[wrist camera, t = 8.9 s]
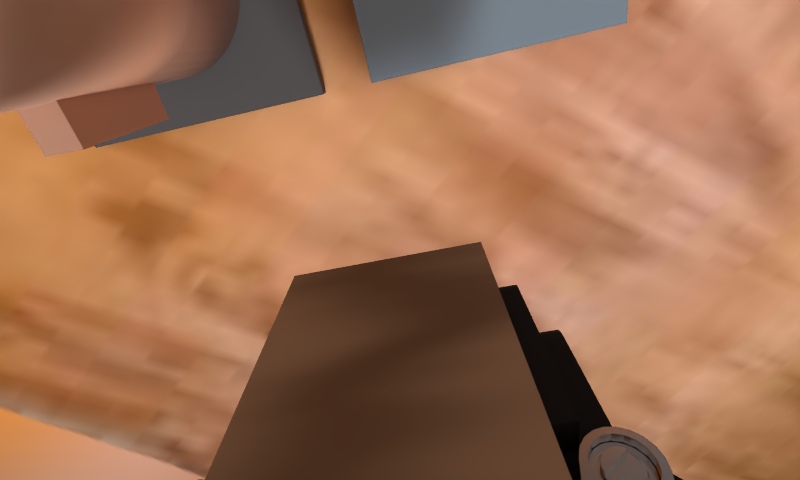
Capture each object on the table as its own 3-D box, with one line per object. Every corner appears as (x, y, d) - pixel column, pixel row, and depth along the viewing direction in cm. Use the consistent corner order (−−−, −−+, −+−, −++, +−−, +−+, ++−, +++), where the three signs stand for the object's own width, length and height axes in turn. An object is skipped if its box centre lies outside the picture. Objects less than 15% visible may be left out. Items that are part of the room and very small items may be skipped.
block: (480, 241, 10) (576, 489, 4) (498, 378, 12) (574, 645, 7) (294, 276, 10) (180, 534, 5) (345, 399, 13) (306, 665, 7)
